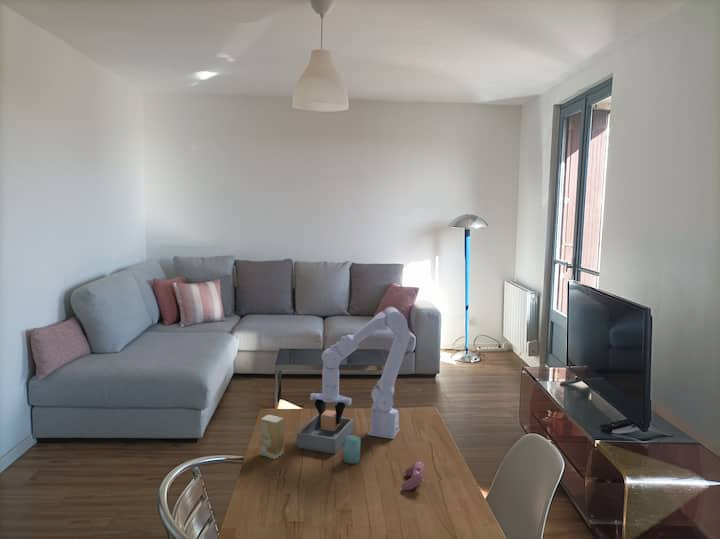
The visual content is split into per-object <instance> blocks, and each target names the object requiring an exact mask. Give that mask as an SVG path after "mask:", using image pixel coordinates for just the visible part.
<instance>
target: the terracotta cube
mask: <svg viewBox="0 0 720 539" xmlns="http://www.w3.org/2000/svg"><path fill="white" fill-rule="evenodd" d="M339 425H340V423H339V424H336V410H331V409H330V410H329V409H325V411H324V412H323V413H322V415H321V429H322V430H330V431H335V430H336V429H337V428H338V427H339Z"/></svg>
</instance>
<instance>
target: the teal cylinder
mask: <svg viewBox="0 0 720 539" xmlns="http://www.w3.org/2000/svg"><path fill="white" fill-rule="evenodd" d="M361 441H362V438H361V437H360V436H358V435H354V434H352V435H349V436H346V437H345V442H344V445H343V446H344V448H343V462H345V463H346V464H358V463H360V461H361V460H360V459H361V458H360V457H361Z"/></svg>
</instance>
